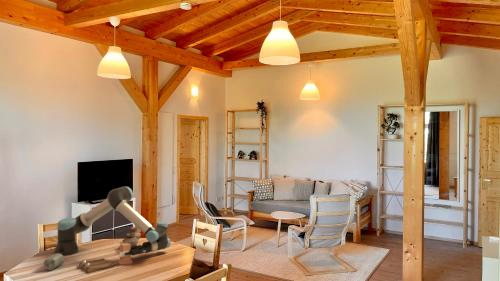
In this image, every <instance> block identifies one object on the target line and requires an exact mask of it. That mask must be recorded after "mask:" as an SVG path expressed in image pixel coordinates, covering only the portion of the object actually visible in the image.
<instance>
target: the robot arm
mask: <svg viewBox="0 0 500 281" xmlns="http://www.w3.org/2000/svg"><path fill="white" fill-rule="evenodd" d="M133 196H134V192H133V190H132V188H130V187H129V186H121V187H118V188H113V189H112V190H110V191H109V192H108V194H107V198H106V199H104V200H103V201H101V202H100V203H99V204H97V205H96V206H94V207H93V208H91V209H90V210H88V211H87V212H81V214H79V215H78V216H76V217H67V218H62V219H60V220H59V221H58V222H57V226H56V227H57V243H56V245H55V249H54V254H57V253H60V254H62V255H63V256H71V255H74V254H76V253H78V252H79V246H78V243H77V239H76V238H77V235H78V234H80V233H83V232H86V231H87V230H89V229H90V228H91V227H92V226H93V223H94V222H95V221H97V220H99V219H100V218H101V217H103V216H105V215H106V214H107V213H109V212H110V211H113V209H114V211H116V212H119V213H120V214H122V216H124V217H125V219H127V220H128V221H130V222H131V224H133V225H134V227H137V228H138V230H140V231H141V233H143V234H144V235H145V238H146V240H147V241H143V243H142V245H141V244H139V245H138V244H137V245H133V246H131V250H130V252H129V251H125V252H120V249H116V250H115V253H114V254H115V256H118V257H119V258H120V257H122V256H127V255H130V256H136V255H140V254H141V255H142V254H149V253H154V252H156V251H160V250H166V249H169V248H170V247H171V242H172V241H171V239H170V238H169V237H168V222H166V221H158V222H156V227H155V226H154V225H152V224H151V223H150V222H149V221H148V220H147V219H146V218H145V217H144V216H143V215H141V213H139V212H138V211H137V210H136V209H135V208H133V207H132V206H131V205H130V204H129V203H128V202H130V201H131V200H132V199H133Z"/></svg>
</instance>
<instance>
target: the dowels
mask: <svg viewBox="0 0 500 281" xmlns="http://www.w3.org/2000/svg"><path fill="white" fill-rule="evenodd" d="M86 262H87V261H86V260H82V261H81V263H82V266H86V269H89V268H90V263H86Z"/></svg>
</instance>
